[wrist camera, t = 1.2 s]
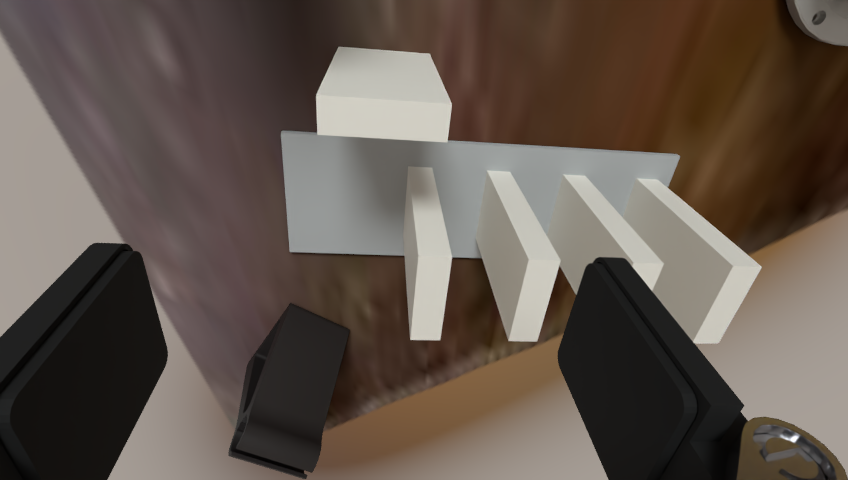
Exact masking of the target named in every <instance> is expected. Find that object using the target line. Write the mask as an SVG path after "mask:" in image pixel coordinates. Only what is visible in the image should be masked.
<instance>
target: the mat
mask: <svg viewBox="0 0 848 480" xmlns="http://www.w3.org/2000/svg"><path fill="white" fill-rule="evenodd" d="M281 141H282V155H283V168H284V181H285V195H286V208H287V221H288V234H289V248H290V252H307V253H338V254H369V255H400V256H404V241H403V229H404V216H405V203H406V189H407V176H408V166H412V167H431V168H432V169H433V173H434V178H435V182H436V187H437V191H438V196H439V200H440V205H441V209H442V214H443V218H444V223H445V227H446V232H447V236H448V241H449V245H450V250H451V254H452V257H462V258H482V256H481V253H480V250H479V247H478V244H477V241H476V232H477V226H478V221H479V215H480V209H481V203H482V197H483V191H484V185H485V180H486V174H487V171H506V172H511V174H512V176H513V178H514V179H515V181H516V183H517V185H518V186H519V188H520V190H521V192H522V193H523V195H524V197H525V199H526V200H527V202H528V204H529V206H530V207H531V209H532V211H533V213H534V214H535V216H536V218H537V220H538V221H539V223H540V225H541V227H542V228H543V230H544V232H545V234H546V235H547V233H548V229H549V226H550V222H551V218H552V214H553V211H554V207H555V203H556V199H557V195H558V192H559V188H560V184H561V180H562V176H563V175H581V176H586V177H587V178H588V179H589V180H590V182H591V183H592V184H593V185H594V186H595V187H596V188H597V189H598V191H599V192H600V193H601V194H602V195H603V196H604V197H605V198H606V199H607V201H608V202H609V203H610V204H611V205H612V206H613V207H614V208H615V210H616V211H617V212H618V213H619V214H620V215H621V216H622V217H623V214H624V212H625V209H626V206H627V203H628V200H629V197H630V195H631V192H632V189H633V186H634V183H635V181H636V178H638V179H656V180H659V181H660V182H661V183H662V184H664V185H665V186H666V187H667V188H668V186H669V183H670V181H671V178H672V176H673V173H674V171H675V168H676V166H677V163H678V161H679V158H680V156H679V155H677V154H666V153H650V152H633V151H616V150H600V149H583V148H566V147H549V146H533V145H516V144H499V143H483V142H466V141H449V140H448V141H447V142H430V141H413V140H397V139H380V138H363V137H346V136H329V135H317V133H315V132H299V131H282V132H281Z"/></svg>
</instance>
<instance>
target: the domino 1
mask: <svg viewBox="0 0 848 480" xmlns="http://www.w3.org/2000/svg"><path fill="white" fill-rule="evenodd" d="M316 108H317V135H329V136H346V137H363V138H380V139H397V140H413V141H430V142H447V141H448V133H449V124H450V116H451V108H452V103H451V101H450V99H449V97H448V94H447V92H446V90H445V87H444V85H443V83H442V81H441V78H440V76H439V74H438V72H437V69H436V67H435V65H434V63H433V60H432V58H431V56H430V54H426V53H413V52H401V51H388V50H376V49H363V48H351V47H338V49H337V51H336V53H335V55H334V57H333V60H332V62H331V64H330V66H329V68H328V70H327V73H326V75H325V77H324V79H323V81H322V83H321V85H320V88H319V90H318V92H317V94H316Z"/></svg>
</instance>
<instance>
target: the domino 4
mask: <svg viewBox="0 0 848 480" xmlns="http://www.w3.org/2000/svg"><path fill="white" fill-rule="evenodd" d="M547 237H548V239H549V241H550V242H551V244H552V246H553V248H554V250H555V251H556V253H557V255H558V257H559V258H560V260H561V262H560V267H561V269H562V271H563V272H564V274H565V276H566V278H567V280H568V281H569V283H570V285H571V287H572V289H573V290H574V292H575V294H576V295H577V292H578V289H579V286H580V283H581V280H582V276H583V273H584V270H585V268H586V266H587V265H588V264H589V263H593V261H594V260H595V259H596V258H598V257H616V258H625V259H626V260H627V261H628V262H629V263H630V264H631V266H632V267H633V268H634V269H635V271H636V272H637V273H638V274H639V276H640V277H641V278H642V279H643V280H644V282H645V283H646V284H647V285H648V287H649V288H650V289H651V290H653V288H654V286H655V283H656V281H657V279H658V277H659V274H660V272H661V270H662V267H663V265H664V263H663V262H662V261H661V260H660V259H659V258H658V257H657V255H656V254H655V253H654V252H653V251H652V250H651V249H650V248H649V247H648V245H647V244H646V243H645V242H644V241H643V240H642V239H641V238H640V236H639V235H638V234H637V233H636V232H635V231H634V230H633V229H632V227H631V226H630V225H629V224H628V223H627V222H626V221H625V220H624V219H623V217H622V216H621V215H620V214H619V213H618V212H617V211H616V210H615V208H614V207H613V206H612V205H611V204H610V203H609V202H608V201H607V199H606V198H605V197H604V196H603V195H602V194H601V193H600V192H599V191H598V189H597V188H596V187H595V186H594V185H593V184H592V183H591V182H590V180H589V179H588V178H587V177H586V176H581V175H563V176H562V180H561V184H560V188H559V192H558V195H557V199H556V203H555V207H554V211H553V214H552V218H551V222H550V226H549V229H548V233H547Z"/></svg>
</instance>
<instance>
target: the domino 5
mask: <svg viewBox="0 0 848 480" xmlns="http://www.w3.org/2000/svg"><path fill="white" fill-rule="evenodd" d="M623 219H624V220H625V221H626V222H627V223H628V224H629V225H630V226H631V227H632V229H633V230H634V231H635V232H636V233H637V234H638V235H639V236H640V238H641V239H642V240H643V241H644V242H645V243H646V244H647V245H648V247H649V248H650V249H651V250H652V251H653V252H654V253H655V254H656V255H657V257H658V258H659V259H660V260H661V261H662V262H663V263H664V265H663V267H662V270H661V272H660V274H659V277H658V279H657V281H656V283H655V286H654V288H653V290H652V292H653V293H654V294H655V295H656V297H657V298H658V299H659V300H660V302H661V303H662V304H663V305H664V307H665V308H666V309H667V310H668V312H669V313H670V314H671V315H672V316H673V318H674V319H675V320H676V321H677V323H678V324H679V325H680V326H681V328H682V329H683V330H684V331H685V333H686V334H687V335H688V336H689V338H690V339H691V340H692V341H693V343H700V344H701V343H703V344H718V343H719V342H720V340H721V338H722V336H723V335H724V333H725V331H726V330H727V328H728V326H729V324H730V323H731V321H732V319H733V317H734V315H735V314H736V312H737V310H738V309H739V307H740V305H741V303H742V301H743V300H744V298H745V296H746V294H747V293H748V291H749V289H750V287H751V286H752V284H753V282H754V280H755V279H756V277H757V275H758V273H759V272H760V270H761V268H762V267H761V266H760V265H759V264H758V263H757V262H756V261H754V260H753V259H752V258H751V257H750V256H748V255H747V254H746V253H745V252H744V251H742V250H741V249H740V248H739V247H738V246H736V245H735V244H734V243H733V242H732V241H730V240H729V239H728V238H727V237H726V236H724V235H723V234H722V233H721V232H720V231H719V230H717V229H716V228H715V227H714V226H713V225H711V224H710V223H709V222H708V221H707V220H705V219H704V218H703V217H702V216H701V215H699V214H698V213H697V212H696V211H695V210H693V209H692V208H691V207H690V206H689V205H687V204H686V203H685V202H684V201H683V200H682V199H680V198H679V197H678V196H677V195H676V194H674V193H673V192H672V191H671V190H670V189H668V188H667V187H666V186H665V185H664V184H662V183H661V182H660V181H659V180H656V179H638V178H636V181H635V183H634V186H633V189H632V192H631V195H630V197H629V200H628V203H627V206H626V209H625V212H624V214H623Z"/></svg>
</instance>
